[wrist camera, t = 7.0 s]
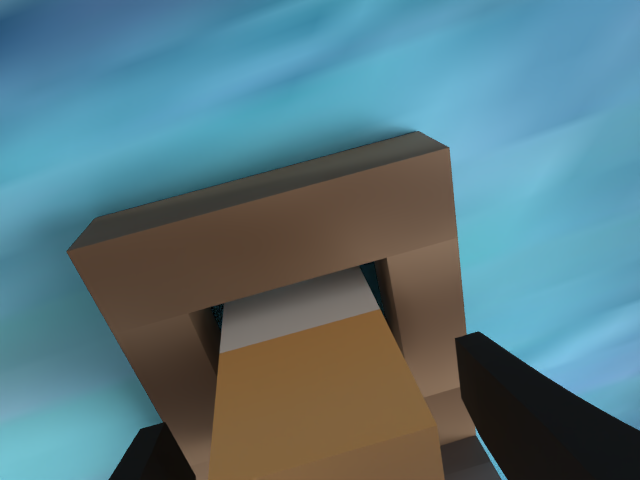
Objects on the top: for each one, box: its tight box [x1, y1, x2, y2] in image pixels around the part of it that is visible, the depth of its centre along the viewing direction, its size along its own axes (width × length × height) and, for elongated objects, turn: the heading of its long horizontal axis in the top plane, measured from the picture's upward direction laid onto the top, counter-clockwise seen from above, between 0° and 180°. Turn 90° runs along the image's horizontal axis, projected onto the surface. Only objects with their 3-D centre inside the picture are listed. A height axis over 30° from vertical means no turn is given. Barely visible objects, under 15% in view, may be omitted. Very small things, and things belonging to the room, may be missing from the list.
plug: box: [208, 266, 445, 480], centre depth 11 cm, size 4×4×6 cm
